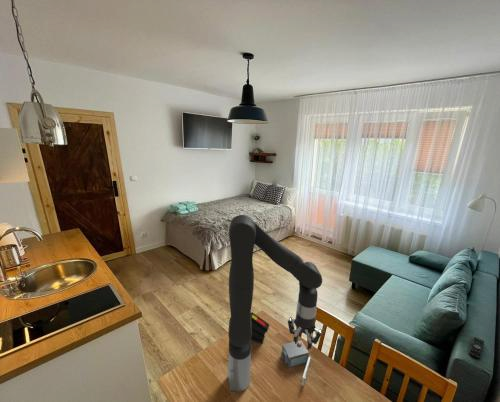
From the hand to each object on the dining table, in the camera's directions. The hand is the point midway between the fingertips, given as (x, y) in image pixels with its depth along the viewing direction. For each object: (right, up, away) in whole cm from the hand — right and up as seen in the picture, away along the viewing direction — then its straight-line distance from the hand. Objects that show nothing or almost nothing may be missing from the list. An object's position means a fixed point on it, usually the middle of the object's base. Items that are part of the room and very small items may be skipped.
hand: (302, 344), depth 93 cm
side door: (+4, -18, +8) cm, 20 cm away
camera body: (0, -16, +15) cm, 22 cm away
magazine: (-19, -13, +24) cm, 34 cm away
